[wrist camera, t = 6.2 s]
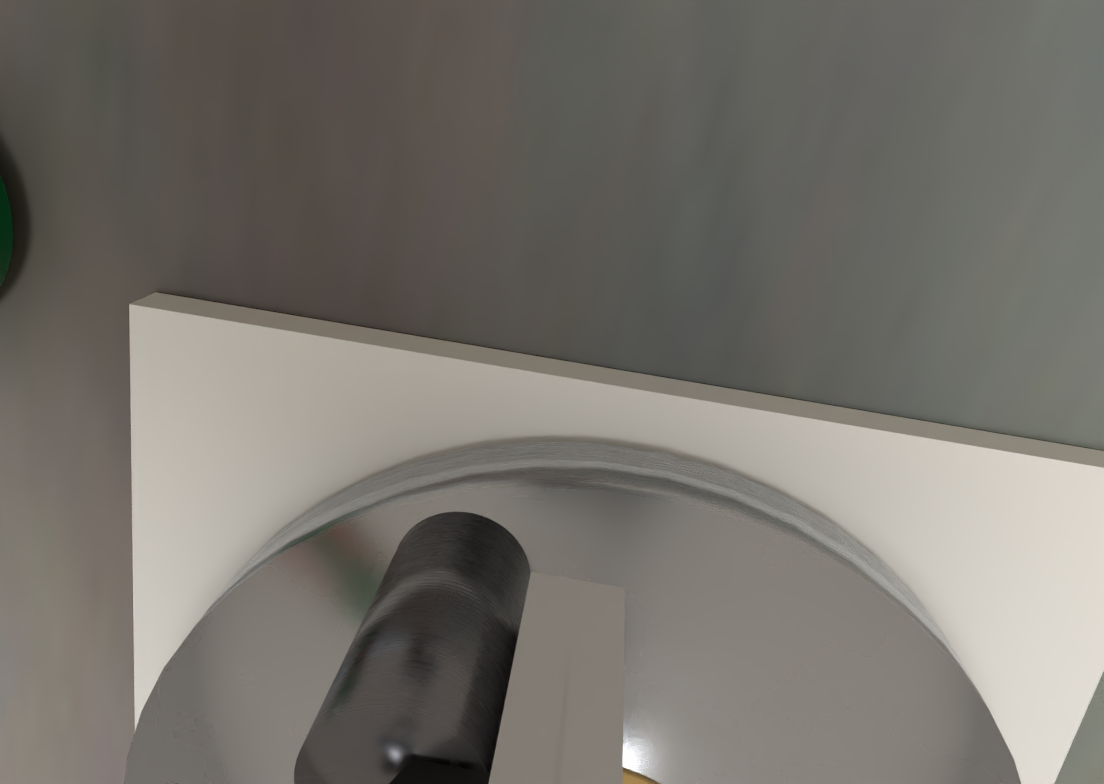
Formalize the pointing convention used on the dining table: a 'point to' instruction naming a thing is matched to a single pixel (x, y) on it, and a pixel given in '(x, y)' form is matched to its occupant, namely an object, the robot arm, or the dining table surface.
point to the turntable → (495, 616)
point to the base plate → (616, 419)
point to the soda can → (5, 232)
